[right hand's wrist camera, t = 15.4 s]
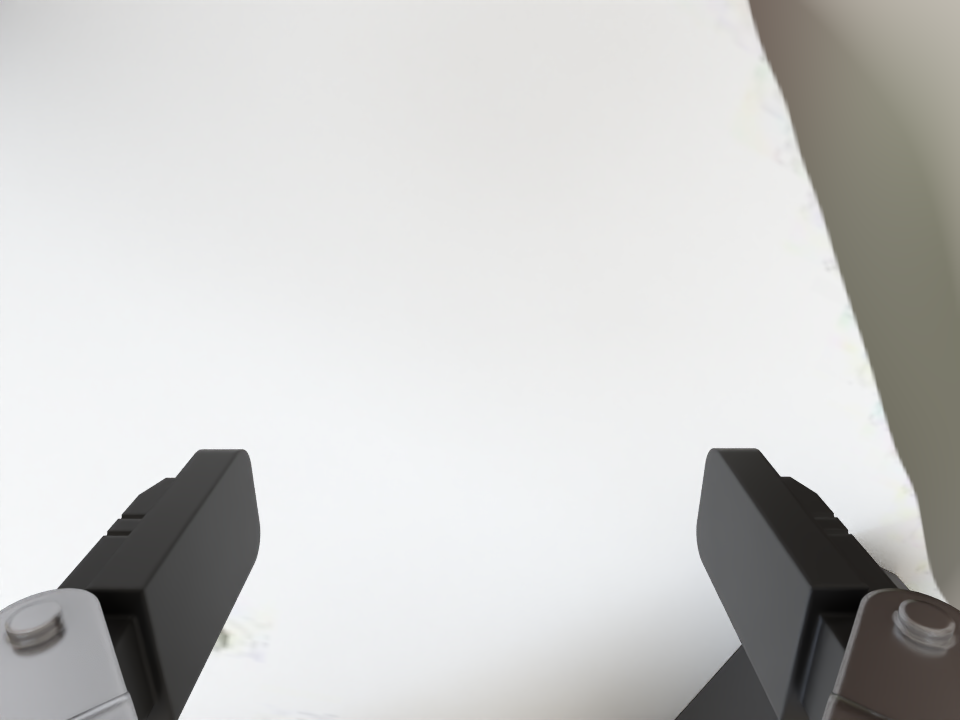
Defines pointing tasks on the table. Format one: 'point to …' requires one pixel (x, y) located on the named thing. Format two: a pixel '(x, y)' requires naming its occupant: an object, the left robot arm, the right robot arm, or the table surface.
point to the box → (738, 690)
